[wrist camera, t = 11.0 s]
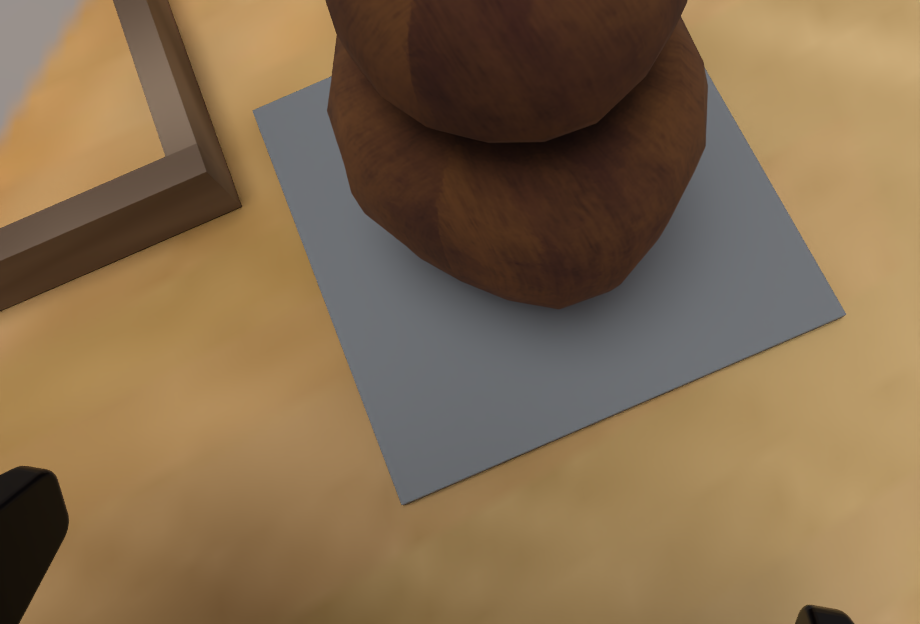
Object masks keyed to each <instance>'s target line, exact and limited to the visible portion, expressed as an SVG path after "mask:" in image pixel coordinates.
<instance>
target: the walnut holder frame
mask: <svg viewBox="0 0 920 624" xmlns="http://www.w3.org/2000/svg"><path fill="white" fill-rule="evenodd" d="M113 2H114V5H115V8H116V11H117V13H118V16H119V19H120V22H121V25H122V28H123V31H124V34H125V37H126V40H127V43H128V46H129V49H130V52H131V55H132V58H133V61H134V64H135V67H136V70H137V73H138V76H139V79H140V82H141V85H142V88H143V91H144V94H145V97H146V100H147V103H148V106H149V109H150V112H151V115H152V118H153V121H154V123H155V126H156V129H157V132H158V135H159V138H160V141H161V144H162V147H163V150H164V153H165V156H166V157H164V158H162V159H159V160H157V161H155V162H152V163H150V164H148V165H145V166H143V167H141V168H138V169H136V170H134V171H132V172H129V173H127V174H125V175H122V176H120V177H118V178H115V179H113V180H111V181H108V182H106V183H104V184H102V185H99V186H97V187H95V188H92V189H90V190H88V191H85V192H83V193H81V194H78V195H76V196H74V197H71V198H69V199H67V200H65V201H62V202H60V203H58V204H55V205H53V206H51V207H48V208H46V209H44V210H41V211H39V212H37V213H35V214H32V215H30V216H28V217H25V218H23V219H21V220H18V221H16V222H14V223H11V224H9V225H7V226H5V227H2V228H0V311H1V310H3V309H6V308H8V307H10V306H13V305H15V304H17V303H20V302H22V301H24V300H26V299H29V298H31V297H33V296H36V295H38V294H40V293H43V292H45V291H47V290H50V289H52V288H54V287H57V286H59V285H61V284H64V283H66V282H68V281H70V280H73V279H75V278H77V277H80V276H82V275H84V274H87V273H89V272H91V271H94V270H96V269H98V268H101V267H103V266H105V265H107V264H110V263H112V262H114V261H117V260H119V259H121V258H124V257H126V256H128V255H131V254H133V253H135V252H138V251H140V250H142V249H144V248H147V247H149V246H151V245H154V244H156V243H158V242H161V241H163V240H165V239H168V238H170V237H172V236H175V235H177V234H179V233H182V232H184V231H186V230H188V229H191V228H193V227H195V226H198V225H200V224H202V223H205V222H207V221H209V220H212V219H214V218H216V217H219V216H221V215H223V214H225V213H228V212H230V211H232V210H235V209H237V208H239V207H242V206H241V203H240V200H239V197H238V195H237V192H236V189H235V186H234V184H233V181H232V178H231V175H230V172H229V170H228V167H227V164H226V161H225V159H224V156H223V153H222V150H221V147H220V145H219V142H218V139H217V136H216V134H215V131H214V128H213V125H212V122H211V120H210V117H209V114H208V111H207V109H206V106H205V103H204V100H203V97H202V95H201V92H200V89H199V86H198V84H197V81H196V78H195V75H194V72H193V70H192V67H191V64H190V61H189V59H188V56H187V53H186V50H185V47H184V45H183V42H182V39H181V36H180V34H179V31H178V28H177V25H176V22H175V20H174V17H173V14H172V11H171V9H170V6H169V3H168V0H113Z"/></svg>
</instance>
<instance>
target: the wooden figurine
mask: <svg viewBox="0 0 920 624" xmlns="http://www.w3.org/2000/svg"><path fill="white" fill-rule="evenodd" d="M326 3H327V6H328V9H329V12H330V15H331V18H332V22H333V25H334V28H335V31H336V34H337V38H336V46H335V54H334V62H333V70H332V78H331V85H330V92H329V99H328V106H327V113H328V116H329V119H330V122H331V125H332V128H333V131H334V134H335V138H336V141H337V144H338V147H339V150H340V153H341V156H342V160H343V163H344V166H345V170H346V174H347V178H348V182H349V186H350V190H351V193H352V195H353V196H354V198H355V200H356V201H357V203H358V204H359V206H360V207H361V209H362V210H363V212H364V213H365V214H366V215H367V216H368V217H370V218H371V219H372V220H373V221H375V222H376V223H377V224H379V225H380V226H381V227H382V228H384V229H385V230H386V231H388V232H389V233H390V234H391V235H393V236H394V237H395V238H396V239H398V240H399V241H400V242H402V243H403V244H404V245H405V246H407V247H408V248H409V249H410V250H411V251H412V252H413V253H415V254H416V255H417V256H418V257H419V258H420V259H422V260H424V261H426V262H428V263H429V264H431V265H433V266H435V267H436V268H438V269H440V270H442V271H443V272H445V273H447V274H449V275H451V276H452V277H454V278H456V279H458V280H459V281H461V282H464V283H466V284H469V285H471V286H473V287H476V288H478V289H481V290H483V291H486V292H488V293H491V294H493V295H496V296H498V297H501V298H503V299H506V300H509V301H514V302H519V303H525V304H531V305H536V306H542V307H548V308H553V309H562V308H565V307H568V306H570V305H573V304H576V303H579V302H581V301H584V300H587V299H590V298H593V297H595V296H598V295H601V294H604V293H607V292H609V291H612V290H613V289H615V288H616V287H617V286H619V285H620V284H621V283H622V282H623V281H624V280H625V279H626V277H627V276H628V275H629V274H630V273H631V271H632V270H633V269H634V268H635V267H636V265H637V264H638V263H639V262H640V261H641V260H642V258H643V257H644V256H645V255H646V254H647V252H648V251H649V250H650V249H651V248H652V246H653V245H654V244H655V243H656V242H657V240H658V239H659V238H660V236H661V234H662V233H663V231H664V229H665V228H666V226H667V224H668V222H669V220H670V219H671V217H672V215H673V213H674V211H675V209H676V207H677V205H678V203H679V201H680V199H681V197H682V195H683V193H684V191H685V189H686V187H687V185H688V183H689V181H690V180H691V178H692V176H693V174H694V172H695V170H696V167H697V165H698V163H699V160H700V158H701V156H702V154H703V151H704V149H705V147H706V125H707V99H708V83H707V78H706V73H705V68H704V63H703V60H702V58H701V56H700V54H699V52H698V50H697V48H696V46H695V44H694V42H693V40H692V38H691V36H690V34H689V32H688V30H687V28H686V26H685V24H684V22H683V20H682V18H681V14H682V12H683V10H684V8H685V5H686V3H687V0H326Z"/></svg>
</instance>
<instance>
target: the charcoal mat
mask: <svg viewBox="0 0 920 624" xmlns="http://www.w3.org/2000/svg"><path fill="white" fill-rule="evenodd" d="M705 73H706V78H707V83H708V99H707V125H706V147H705V149H704V151H703V154H702V156H701V158H700V160H699V163H698V165H697V167H696V170H695V172H694V174H693V176H692V178H691V180H690V181H689V183H688V185H687V187H686V189H685V191H684V193H683V195H682V197H681V199H680V201H679V203H678V205H677V207H676V209H675V211H674V213H673V215H672V217H671V219H670V220H669V222H668V224H667V226H666V228H665V229H664V231H663V233H662V234H661V236H660V238H659V239H658V240H657V242H656V243H655V244H654V245H653V246H652V248H651V249H650V250H649V251H648V252H647V254H646V255H645V256H644V257H643V258H642V260H641V261H640V262H639V263H638V264H637V265H636V267H635V268H634V269H633V270H632V271H631V273H630V274H629V275H628V276H627V277H626V279H625V280H624V281H623V282H622V283H621V284H620V285H619V286H617V287H616V288H615V289H613V290H612V291H609V292H607V293H604V294H601V295H598V296H595V297H593V298H590V299H587V300H584V301H581V302H579V303H576V304H573V305H570V306H568V307H565V308H562V309H553V308H548V307H542V306H536V305H531V304H525V303H519V302H514V301H509V300H506V299H503V298H501V297H498V296H496V295H493V294H491V293H488V292H486V291H483V290H481V289H478V288H476V287H473V286H471V285H469V284H466V283H464V282H461V281H459V280H458V279H456V278H454V277H452V276H451V275H449V274H447V273H445V272H443V271H442V270H440V269H438V268H436V267H435V266H433V265H431V264H429V263H428V262H426V261H424V260H422V259H420V258H419V257H418V256H417V255H416V254H415V253H413V252H412V251H411V250H410V249H409V248H408V247H407V246H405V245H404V244H403V243H402V242H400V241H399V240H398V239H396V238H395V237H394V236H393V235H391V234H390V233H389V232H388V231H386V230H385V229H384V228H382V227H381V226H380V225H379V224H377V223H376V222H375V221H373V220H372V219H371V218H370V217H368V216H367V215H366V214H365V213H364V212H363V210H362V209H361V207H360V206H359V204H358V203H357V201H356V200H355V198H354V196H353V195H352V193H351V190H350V186H349V182H348V178H347V174H346V170H345V166H344V163H343V160H342V156H341V153H340V150H339V147H338V144H337V141H336V138H335V134H334V131H333V128H332V125H331V122H330V119H329V116H328V113H327V106H328V99H329V92H330V85H331V78H332V76H331V77H329V78H327V79H324V80H322V81H320V82H317V83H315V84H313V85H310V86H308V87H306V88H303V89H301V90H299V91H296V92H294V93H292V94H290V95H287V96H285V97H283V98H280V99H278V100H276V101H273V102H271V103H269V104H266V105H264V106H262V107H260V108H257V109H255V110H253V113H254V116H255V119H256V121H257V124H258V127H259V129H260V132H261V134H262V137H263V140H264V142H265V145H266V148H267V150H268V153H269V156H270V158H271V161H272V164H273V166H274V169H275V171H276V174H277V177H278V179H279V182H280V185H281V187H282V190H283V193H284V195H285V198H286V201H287V203H288V206H289V208H290V211H291V214H292V216H293V219H294V222H295V224H296V227H297V230H298V232H299V235H300V238H301V240H302V243H303V245H304V248H305V251H306V253H307V256H308V259H309V261H310V264H311V267H312V269H313V272H314V275H315V277H316V280H317V282H318V285H319V288H320V290H321V293H322V296H323V298H324V301H325V304H326V306H327V309H328V312H329V314H330V317H331V319H332V322H333V325H334V327H335V330H336V333H337V335H338V338H339V341H340V343H341V346H342V349H343V351H344V354H345V356H346V359H347V362H348V364H349V367H350V370H351V372H352V375H353V378H354V380H355V383H356V386H357V388H358V391H359V393H360V396H361V399H362V401H363V404H364V407H365V409H366V412H367V415H368V417H369V420H370V423H371V425H372V428H373V430H374V433H375V436H376V438H377V441H378V444H379V446H380V449H381V452H382V454H383V457H384V460H385V462H386V465H387V467H388V470H389V473H390V475H391V478H392V481H393V483H394V486H395V489H396V491H397V494H398V496H399V499H400V502H401V504H402V505H406V504H408V503H410V502H413V501H415V500H417V499H420V498H422V497H424V496H427V495H429V494H431V493H434V492H436V491H438V490H441V489H443V488H445V487H448V486H450V485H452V484H455V483H457V482H459V481H462V480H464V479H466V478H469V477H471V476H473V475H476V474H478V473H480V472H483V471H485V470H487V469H490V468H492V467H494V466H497V465H499V464H501V463H504V462H506V461H508V460H511V459H513V458H515V457H518V456H520V455H522V454H525V453H527V452H529V451H532V450H534V449H536V448H539V447H541V446H543V445H546V444H548V443H550V442H553V441H555V440H557V439H560V438H562V437H564V436H567V435H569V434H571V433H573V432H576V431H578V430H580V429H583V428H585V427H587V426H590V425H592V424H594V423H597V422H599V421H601V420H604V419H606V418H608V417H611V416H613V415H615V414H618V413H620V412H622V411H625V410H627V409H629V408H632V407H634V406H636V405H639V404H641V403H643V402H646V401H648V400H650V399H653V398H655V397H657V396H660V395H662V394H664V393H667V392H669V391H671V390H674V389H676V388H678V387H681V386H683V385H685V384H688V383H690V382H692V381H695V380H697V379H699V378H702V377H704V376H706V375H709V374H711V373H713V372H716V371H718V370H720V369H723V368H725V367H727V366H730V365H732V364H734V363H737V362H739V361H741V360H744V359H746V358H748V357H751V356H753V355H755V354H758V353H760V352H762V351H765V350H767V349H769V348H772V347H774V346H776V345H779V344H781V343H783V342H786V341H788V340H790V339H793V338H795V337H797V336H800V335H802V334H804V333H807V332H809V331H811V330H814V329H816V328H818V327H821V326H823V325H825V324H828V323H830V322H832V321H835V320H837V319H839V318H842V317H843V316H845V315H846V313H845V311H844V310H843V308H842V306H841V304H840V303H839V301H838V299H837V297H836V296H835V294H834V292H833V290H832V289H831V287H830V285H829V284H828V282H827V280H826V278H825V277H824V275H823V273H822V271H821V270H820V268H819V266H818V264H817V263H816V261H815V259H814V257H813V256H812V254H811V252H810V250H809V249H808V247H807V245H806V243H805V242H804V240H803V238H802V237H801V235H800V233H799V231H798V230H797V228H796V226H795V224H794V223H793V221H792V219H791V217H790V216H789V214H788V212H787V210H786V209H785V207H784V205H783V203H782V202H781V200H780V198H779V196H778V195H777V193H776V191H775V190H774V188H773V186H772V184H771V183H770V181H769V179H768V177H767V176H766V174H765V172H764V170H763V169H762V167H761V165H760V163H759V162H758V160H757V158H756V156H755V155H754V153H753V151H752V149H751V148H750V146H749V144H748V143H747V141H746V139H745V137H744V136H743V134H742V132H741V130H740V129H739V127H738V125H737V123H736V122H735V120H734V118H733V116H732V115H731V113H730V111H729V109H728V108H727V106H726V104H725V102H724V101H723V99H722V97H721V96H720V94H719V92H718V90H717V89H716V87H715V85H714V83H713V82H712V80H711V78H710V76H709V75H708V73H707V71H706V69H705Z"/></svg>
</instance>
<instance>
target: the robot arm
mask: <svg viewBox="0 0 920 624" xmlns="http://www.w3.org/2000/svg"><path fill="white" fill-rule="evenodd" d="M68 524H69V516H68V512H67V509H66V505H65V502H64V499H63V495H62V492H61V489H60V486H59V482H58V479H57V477H56V475H55V474H54V473H53V472H52V471H50V470H47V469H41V468H35V467H30V466H19V467H16V468H14V469H11V470H9V471H7V472H5V473H3V474H1V475H0V624H19V623H20V621H21V619H22V617H23V615H24V613H25V611H26V609H27V608H28V606H29V604H30V602H31V600H32V598H33V596H34V594H35V592H36V591H37V589H38V587H39V585H40V583H41V581H42V579H43V577H44V575H45V574H46V572H47V570H48V568H49V566H50V564H51V562H52V560H53V558H54V557H55V555H56V553H57V551H58V549H59V547H60V545H61V543H62V542H63V540H64V538H65V535H66V533H67V530H68ZM795 624H854V623H853V621H852V620H851V619H850V617H849V616H848V615H846V614H845V613H844V612H842V611H840V610H837V609H832V608H826V607H820V606H815V605H806V606H804V607H803V608H802V609H801V610H800V612H799V615H798V617H797V620H796V622H795Z"/></svg>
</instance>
